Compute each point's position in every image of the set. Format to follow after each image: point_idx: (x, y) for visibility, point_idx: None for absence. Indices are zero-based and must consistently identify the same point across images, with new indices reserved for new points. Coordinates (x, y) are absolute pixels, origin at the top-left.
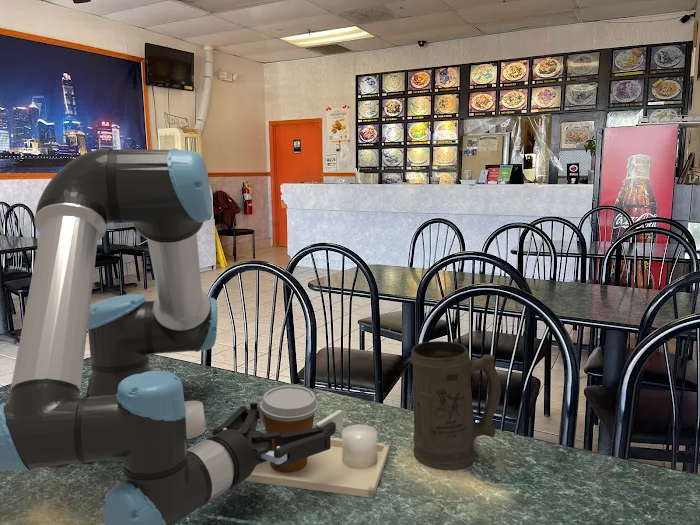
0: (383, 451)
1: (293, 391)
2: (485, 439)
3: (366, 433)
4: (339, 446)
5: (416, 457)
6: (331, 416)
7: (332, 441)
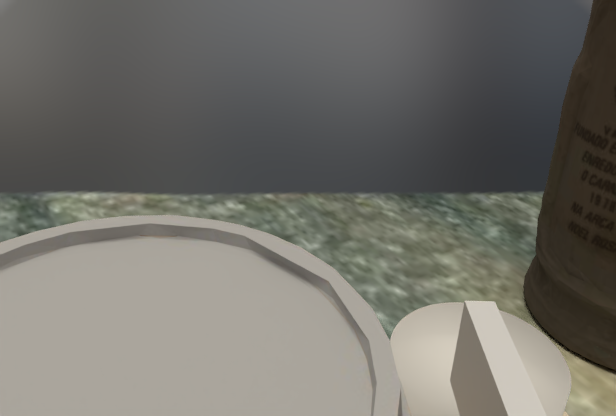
0: None
1: (105, 270)
2: None
3: None
4: None
5: (602, 354)
6: (521, 387)
7: None
